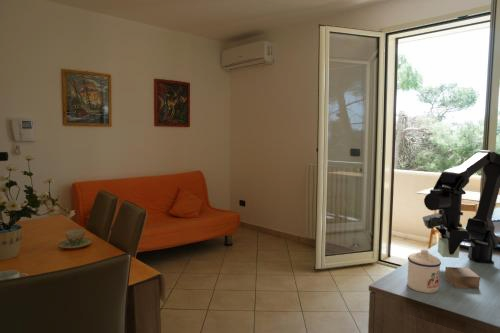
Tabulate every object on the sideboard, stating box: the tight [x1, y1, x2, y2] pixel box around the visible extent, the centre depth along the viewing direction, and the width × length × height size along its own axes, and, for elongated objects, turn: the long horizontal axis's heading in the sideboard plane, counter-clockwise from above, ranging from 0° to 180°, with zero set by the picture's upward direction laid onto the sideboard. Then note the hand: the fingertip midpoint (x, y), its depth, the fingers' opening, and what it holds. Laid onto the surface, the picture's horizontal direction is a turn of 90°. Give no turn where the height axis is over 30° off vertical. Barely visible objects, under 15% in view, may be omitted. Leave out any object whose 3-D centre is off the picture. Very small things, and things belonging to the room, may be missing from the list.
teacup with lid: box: [406, 249, 442, 294], centre depth 109 cm, size 12×9×12 cm
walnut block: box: [444, 266, 481, 290], centre depth 111 cm, size 7×7×4 cm
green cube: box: [437, 237, 461, 259], centre depth 122 cm, size 5×5×5 cm
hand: (448, 251), depth 122 cm, fingers closed on green cube, 5 cm apart
